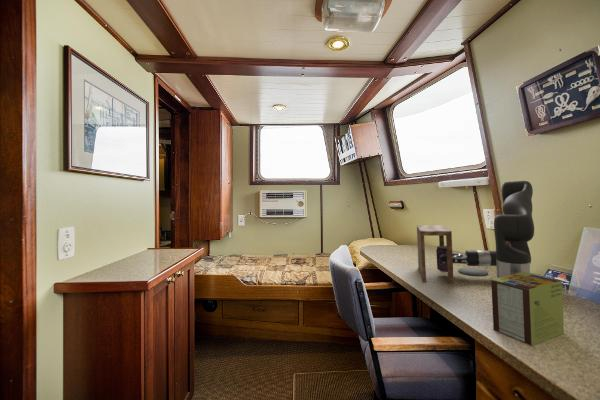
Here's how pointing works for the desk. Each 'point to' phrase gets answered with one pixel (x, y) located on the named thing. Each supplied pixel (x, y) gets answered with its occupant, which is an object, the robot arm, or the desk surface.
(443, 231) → the walnut shelf
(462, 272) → the charcoal mat
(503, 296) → the protein box
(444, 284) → the desk surface
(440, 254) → the beverage can
